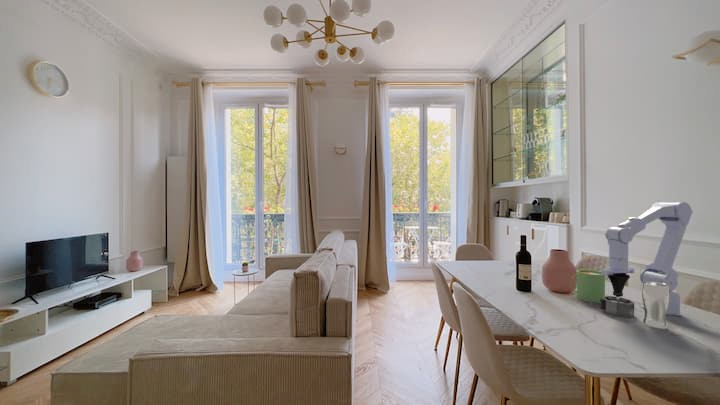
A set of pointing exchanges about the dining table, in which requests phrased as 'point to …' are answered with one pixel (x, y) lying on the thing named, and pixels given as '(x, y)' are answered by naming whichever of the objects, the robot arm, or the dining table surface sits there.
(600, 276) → the mug
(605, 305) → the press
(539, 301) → the dining table surface
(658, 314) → the beer glass
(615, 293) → the plunger
